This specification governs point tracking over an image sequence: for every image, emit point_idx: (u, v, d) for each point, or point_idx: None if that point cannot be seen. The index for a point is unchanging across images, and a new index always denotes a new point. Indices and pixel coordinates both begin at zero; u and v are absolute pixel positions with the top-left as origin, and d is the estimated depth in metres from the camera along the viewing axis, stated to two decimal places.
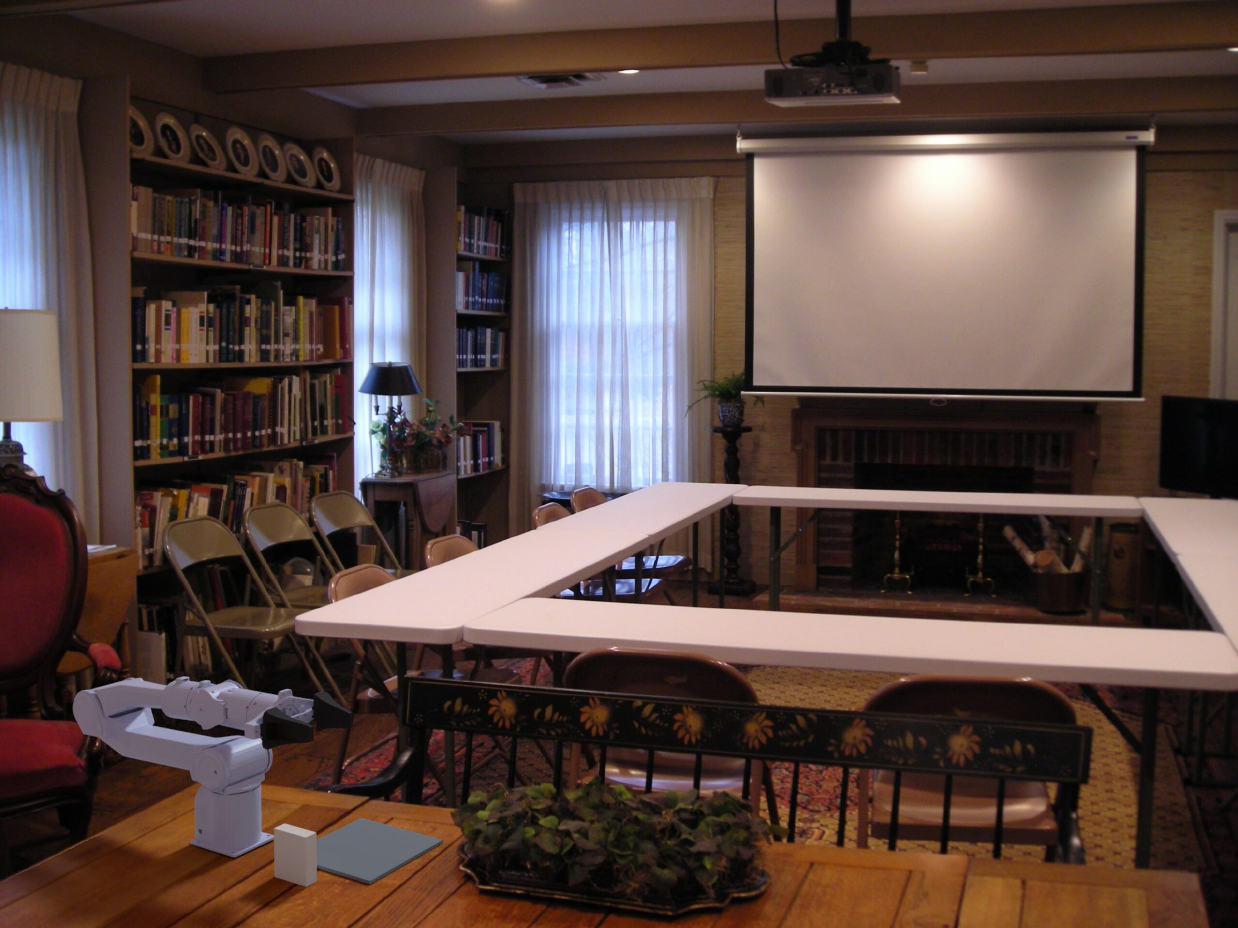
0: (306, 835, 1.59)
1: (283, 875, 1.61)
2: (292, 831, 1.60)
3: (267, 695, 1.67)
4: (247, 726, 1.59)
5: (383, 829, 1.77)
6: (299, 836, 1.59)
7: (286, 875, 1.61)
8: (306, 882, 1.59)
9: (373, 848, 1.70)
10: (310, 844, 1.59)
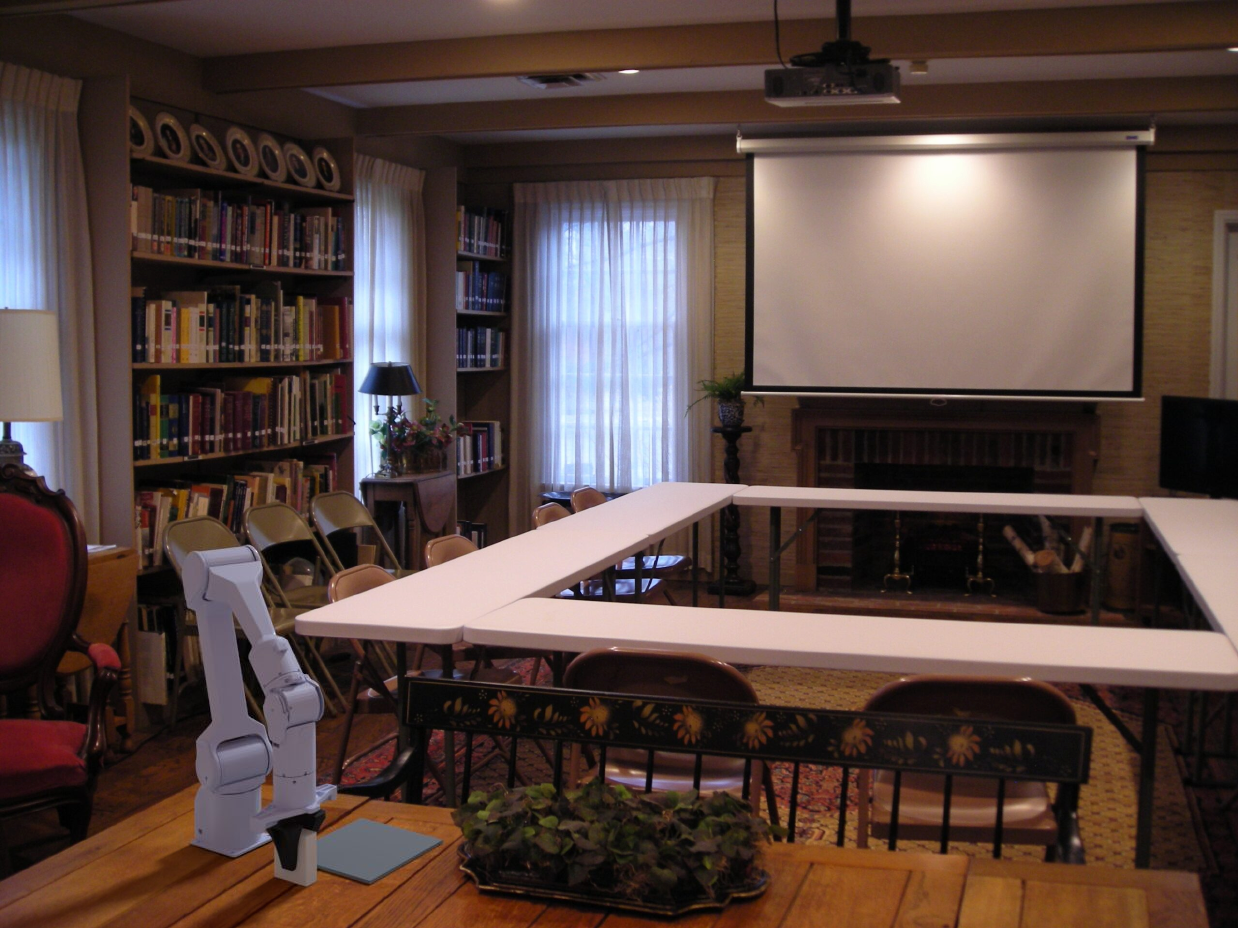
0: (306, 834, 1.59)
1: (283, 874, 1.61)
2: None
3: (308, 784, 1.58)
4: (258, 824, 1.54)
5: (383, 829, 1.77)
6: None
7: (286, 875, 1.61)
8: (306, 882, 1.59)
9: (373, 848, 1.70)
10: (310, 844, 1.59)
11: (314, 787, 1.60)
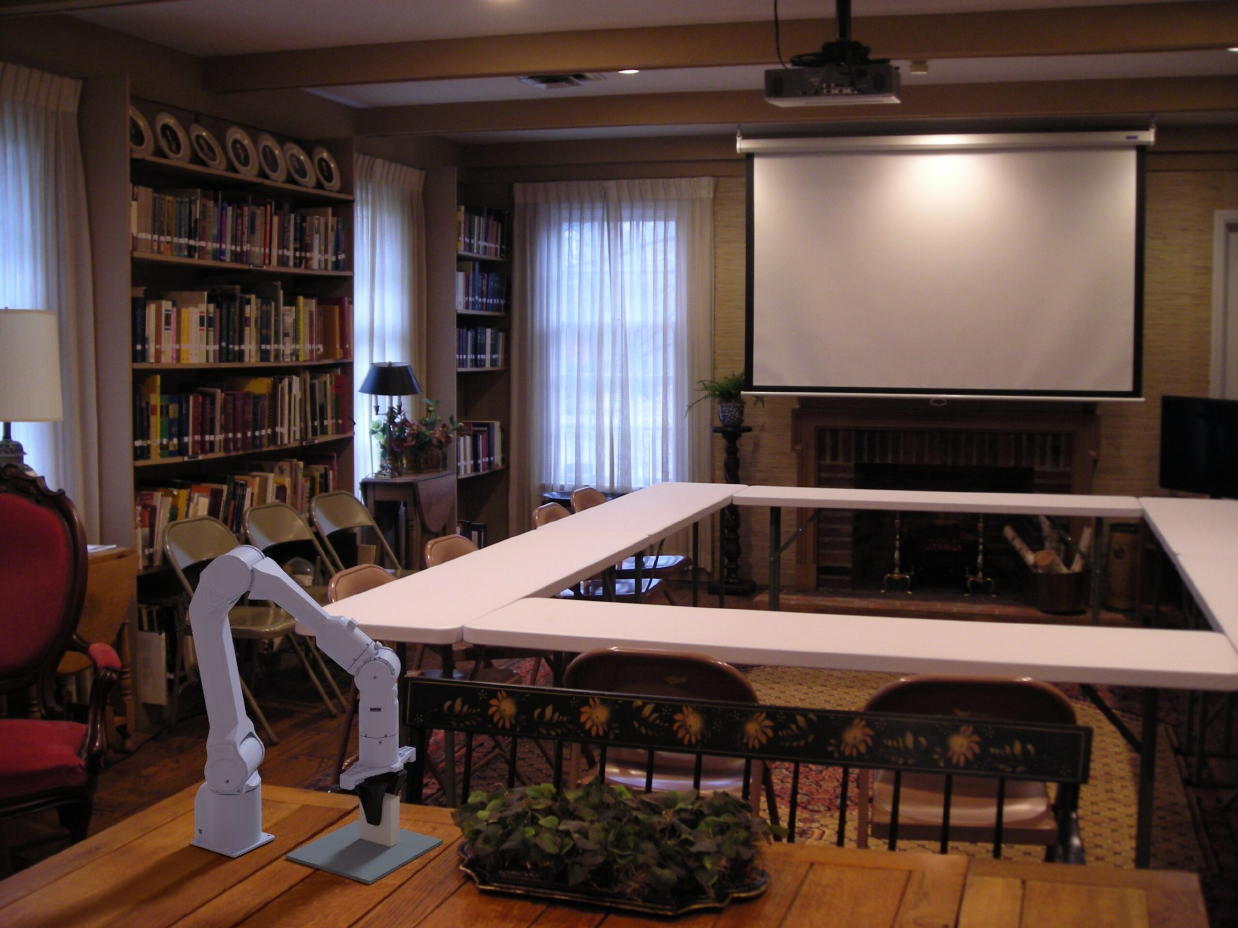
0: (391, 798, 1.71)
1: (368, 836, 1.73)
2: None
3: (392, 744, 1.70)
4: (348, 781, 1.65)
5: None
6: (384, 799, 1.71)
7: (371, 836, 1.73)
8: (390, 842, 1.71)
9: (373, 848, 1.70)
10: (394, 807, 1.71)
11: (397, 748, 1.72)
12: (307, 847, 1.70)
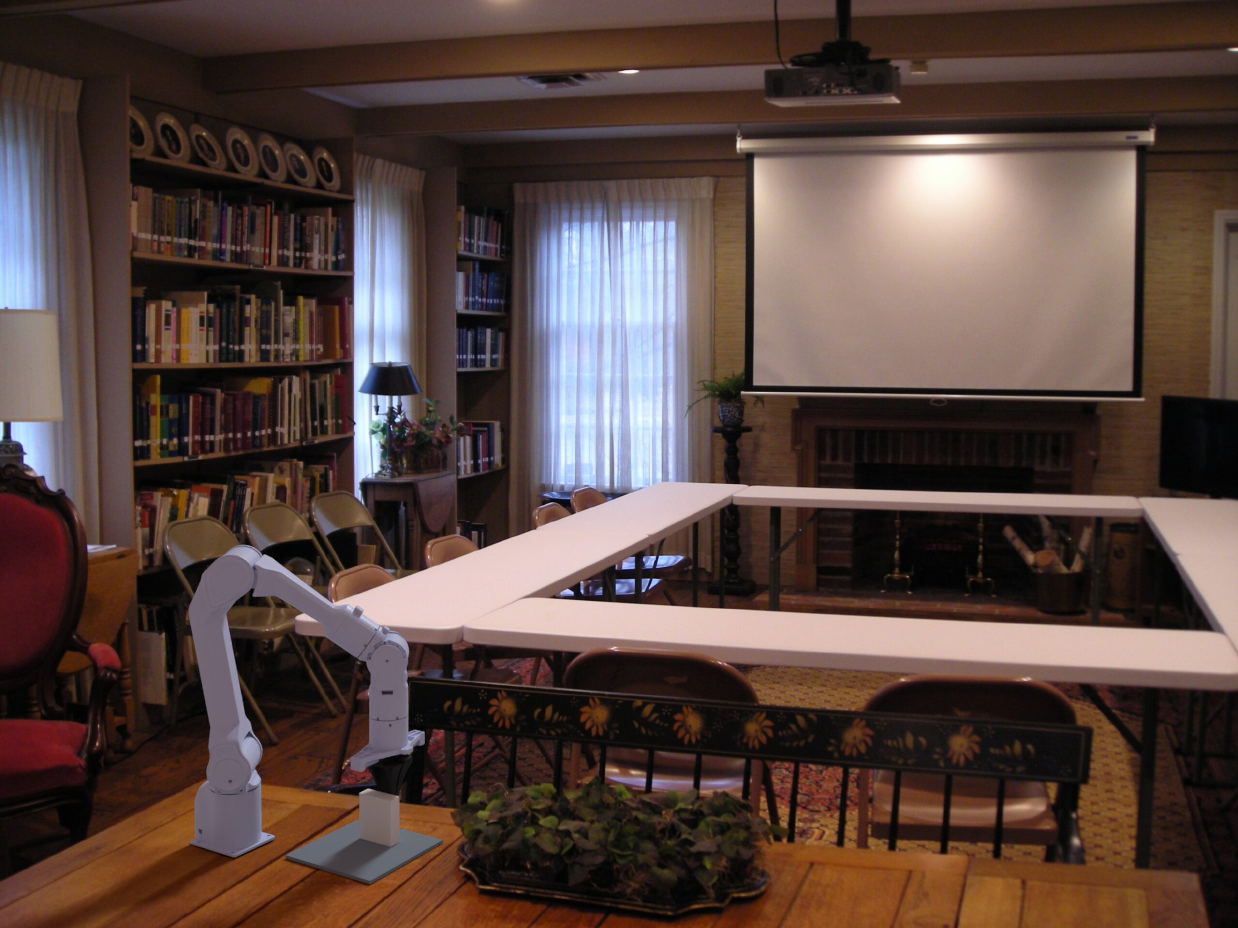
0: (390, 798, 1.71)
1: (368, 836, 1.73)
2: (376, 795, 1.72)
3: (402, 727, 1.72)
4: (359, 763, 1.67)
5: None
6: (384, 799, 1.71)
7: (371, 836, 1.73)
8: (390, 842, 1.71)
9: (373, 848, 1.70)
10: (394, 807, 1.71)
11: (407, 731, 1.73)
12: (307, 847, 1.70)
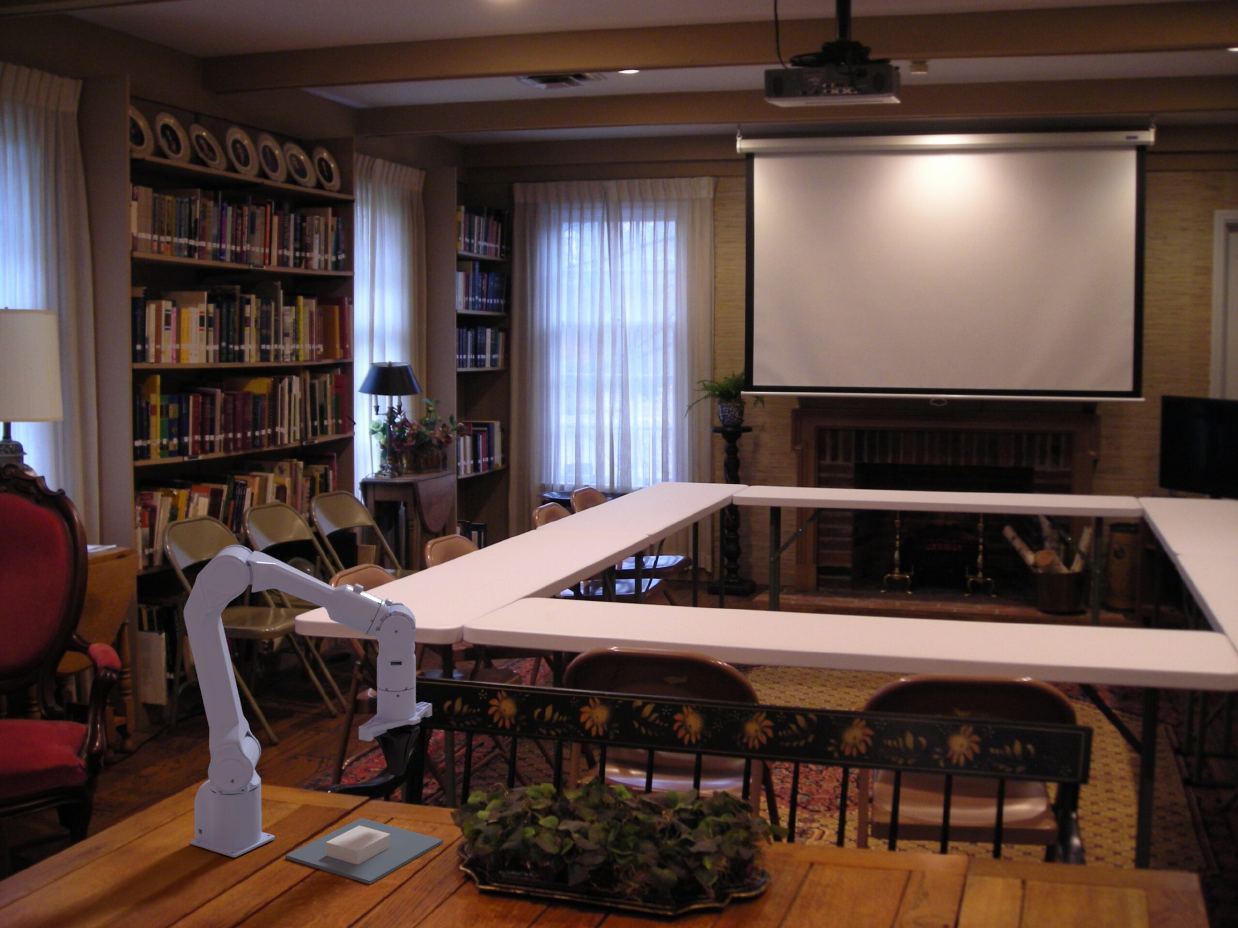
0: (355, 859, 1.65)
1: None
2: (341, 857, 1.66)
3: (410, 698, 1.73)
4: (367, 732, 1.68)
5: (383, 829, 1.77)
6: (352, 862, 1.65)
7: None
8: (387, 847, 1.70)
9: None
10: (364, 855, 1.66)
11: (414, 702, 1.74)
12: (307, 847, 1.70)
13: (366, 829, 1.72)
